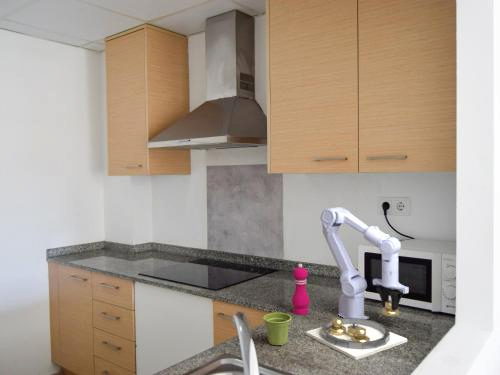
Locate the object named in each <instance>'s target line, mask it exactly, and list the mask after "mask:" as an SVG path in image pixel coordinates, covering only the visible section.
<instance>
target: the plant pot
mask: <svg viewBox="0 0 500 375" xmlns="http://www.w3.org/2000/svg"><path fill="white" fill-rule="evenodd" d="M263 320H264V322H265V325H266V331H267V337H268V343H269V344H270V345H271V344H272V345H271V346H277V345H281V346H285V345H286V344H287V343H288V337H289V330H290V327H289V326H290V323H291V320H292V316H291V315H290V314H288V313H284V312H271V313H267V314H265V315H263ZM284 344H285V345H284Z"/></svg>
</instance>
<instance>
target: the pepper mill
mask: <svg viewBox="0 0 500 375" xmlns="http://www.w3.org/2000/svg"><path fill="white" fill-rule="evenodd" d="M308 275H309V273H308V270H307V268H305V267H303V264H302V263H299V264H298V265H297V267H296V268H294V269H293V271H292V277H293V278H294V280H293V281H294V284H295V288H294V289H295V290H294V293H293V296H292V297H291V298H292V299H291V304H292V305H293V307H292V311H293V314H296V315H301V316H302V315H308V314H309V312H308V311H309V310H310V309H309V307H308V306H310V304H311V302H310V298H309V294H308V292H307V289H306V285H307V283H308V282H307V277H308Z"/></svg>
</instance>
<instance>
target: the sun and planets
mask: <svg viewBox="0 0 500 375" xmlns="http://www.w3.org/2000/svg"><path fill="white" fill-rule="evenodd" d="M341 318H342V317H333V318H331V320H332V325H331V326H329V333H330V334H332V335H338V336H339V335H344V334H346V327H344V326H342V319H341ZM348 336H349V337H351V341H359V342H364V341H370V338H369V337H368V336H366V329H365V328H362V327H360V326H357V323H353V325H351V326H348Z"/></svg>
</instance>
